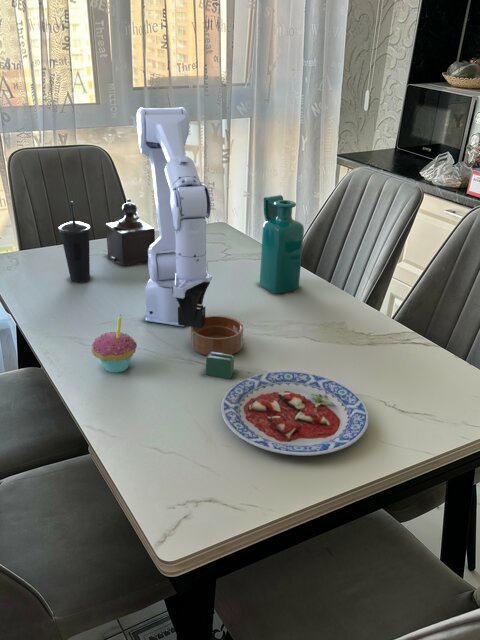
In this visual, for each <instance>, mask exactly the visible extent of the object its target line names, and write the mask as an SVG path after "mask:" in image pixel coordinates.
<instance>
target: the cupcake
mask: <svg viewBox="0 0 480 640" xmlns="http://www.w3.org/2000/svg"><path fill="white" fill-rule="evenodd" d="M121 316H122V314H121V313H120V314H119V316H118V317H117V325H116V331H114V332H112V331H110V332H105V333H102V334H100V335H99V336H97V337H96V338H94V341H93V342H92V347H91V354H92V355H93V356H94V357H95V358H97V359H99V360H100V362H101V364H102V366H103V368H104V370H105V371H107V372H109V373H121V372H124V371H126V370H127V369H129V365H130V362H131V358H132V357H133V356H134V354H135V353H136V351H137V350H136V348H137V342H135V339H134V338H133V337H132V336H130V335H129V334H127V333H124V332H122V331H121V328H122V317H121Z"/></svg>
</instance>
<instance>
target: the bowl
mask: <svg viewBox="0 0 480 640" xmlns="http://www.w3.org/2000/svg"><path fill="white" fill-rule="evenodd" d="M243 344H244V325H243V324H242V322H241V321H239V320H237V319H235V318H233V317H230V316H225V315H209V316H207V315H206V316H205V324H204V326H203V327H202V328H196V327H190V347H191V348H192V349H193V351H195V352H197V353H199V354H200V355H204V356H206V357H207V356H208V355H209V353H210V352H217V353H223V354H229V355H234V354H236V353H238V352H240V350H241V349H242V347H243Z"/></svg>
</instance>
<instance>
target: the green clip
mask: <svg viewBox="0 0 480 640" xmlns="http://www.w3.org/2000/svg"><path fill="white" fill-rule="evenodd" d="M234 373H235V355H233V354H231V355H229V354H223V353H217V352H210V353H209V355H208V356H207V355H206V357H205V375H206V376H209V377H210V376H211V377H216V378H222V379H229V380H231V378H232V377H233V375H234Z"/></svg>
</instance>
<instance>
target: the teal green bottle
mask: <svg viewBox="0 0 480 640" xmlns="http://www.w3.org/2000/svg"><path fill="white" fill-rule="evenodd" d="M296 206H297V203H296V202H295V201H293V200H288V199H284V196H283V195H282V194H279V195H278V194H277V195H272V196H265V197H263V215H264V220H265V221H264V223H263V225H262V233H261V235H262V236H261V253H260V268H259V269H260V271H259V272H260V273H259V285H260V286H261V287H262V288H264V289H266V290H268V291H269V292H271V293H273V294H283V293H288V292H291V291H296V290H298V288H299V287H300V277H301V266H302V257H303V256H302V255H303V246H304V235H305V226H304V224H302V222H300V221H298V220H295V219H293V208H295V207H296Z"/></svg>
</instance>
